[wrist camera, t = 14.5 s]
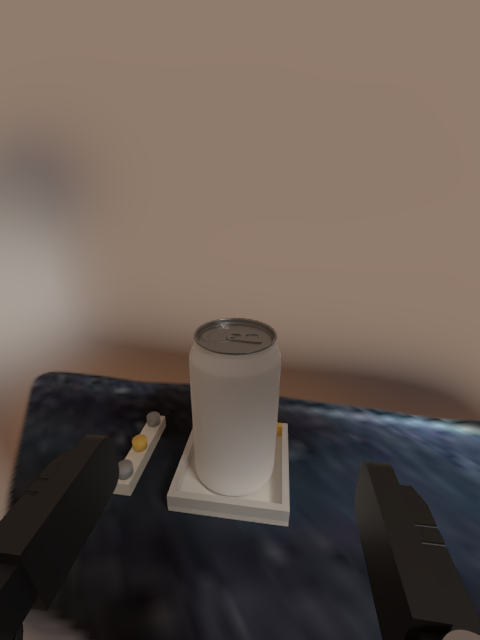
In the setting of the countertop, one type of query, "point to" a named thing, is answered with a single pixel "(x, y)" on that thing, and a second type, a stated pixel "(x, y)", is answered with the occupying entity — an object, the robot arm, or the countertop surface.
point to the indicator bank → (139, 454)
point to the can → (234, 403)
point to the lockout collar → (252, 507)
